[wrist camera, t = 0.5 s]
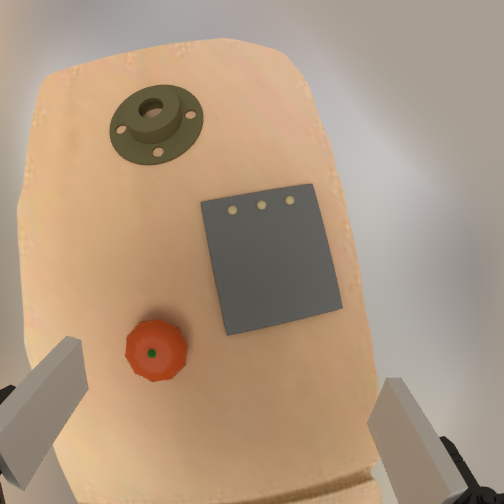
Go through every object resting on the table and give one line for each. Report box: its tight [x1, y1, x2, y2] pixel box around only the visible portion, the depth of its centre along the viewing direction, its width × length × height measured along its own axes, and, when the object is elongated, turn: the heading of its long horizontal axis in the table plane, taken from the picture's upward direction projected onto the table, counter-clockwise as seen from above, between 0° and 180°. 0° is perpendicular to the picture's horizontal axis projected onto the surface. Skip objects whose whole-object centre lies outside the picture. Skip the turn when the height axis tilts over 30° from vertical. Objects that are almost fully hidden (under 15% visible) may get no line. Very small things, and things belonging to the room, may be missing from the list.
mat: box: [201, 184, 343, 336], centre depth 43 cm, size 18×16×1 cm
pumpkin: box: [125, 319, 188, 382], centre depth 36 cm, size 8×8×7 cm
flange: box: [110, 85, 203, 165], centre depth 43 cm, size 5×15×15 cm
